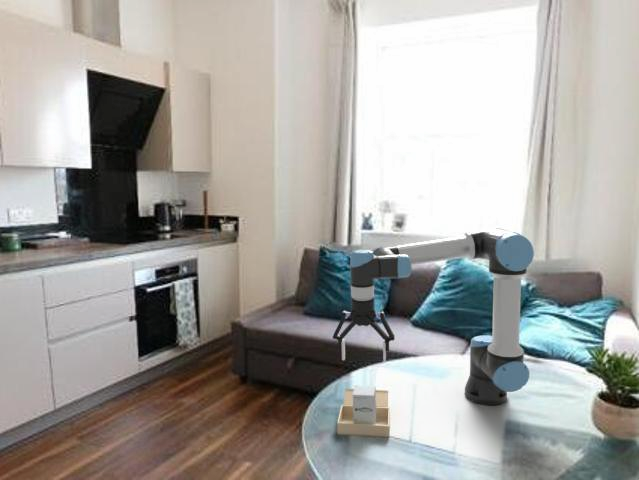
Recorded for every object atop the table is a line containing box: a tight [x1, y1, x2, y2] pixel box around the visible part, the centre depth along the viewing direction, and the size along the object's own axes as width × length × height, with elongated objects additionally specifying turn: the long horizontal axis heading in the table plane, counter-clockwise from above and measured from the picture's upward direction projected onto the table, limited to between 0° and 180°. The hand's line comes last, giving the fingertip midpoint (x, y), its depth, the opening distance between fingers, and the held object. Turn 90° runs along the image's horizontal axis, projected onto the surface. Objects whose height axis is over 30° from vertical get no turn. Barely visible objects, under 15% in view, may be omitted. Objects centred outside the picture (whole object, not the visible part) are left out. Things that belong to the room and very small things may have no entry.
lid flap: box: [343, 388, 389, 407], centre depth 172 cm, size 16×8×1 cm, turn 81°
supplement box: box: [353, 385, 377, 425], centre depth 162 cm, size 7×7×13 cm
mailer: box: [336, 404, 391, 438], centre depth 162 cm, size 17×12×4 cm
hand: (363, 359), depth 159 cm, fingers open, 13 cm apart
